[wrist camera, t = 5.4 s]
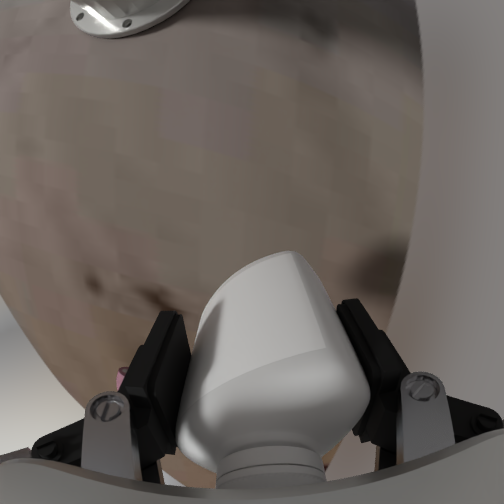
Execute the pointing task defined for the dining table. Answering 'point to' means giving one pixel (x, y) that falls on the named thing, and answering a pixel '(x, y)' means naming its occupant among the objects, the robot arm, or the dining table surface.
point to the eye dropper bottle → (270, 379)
